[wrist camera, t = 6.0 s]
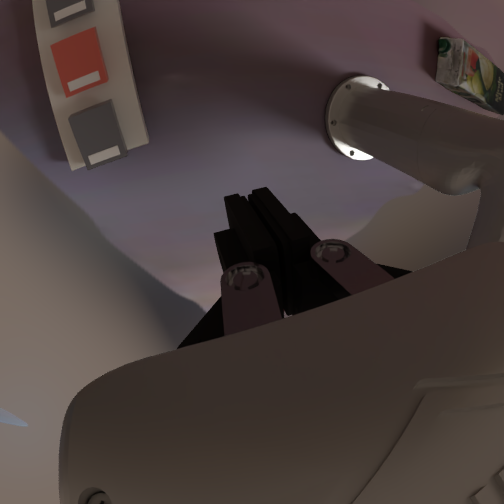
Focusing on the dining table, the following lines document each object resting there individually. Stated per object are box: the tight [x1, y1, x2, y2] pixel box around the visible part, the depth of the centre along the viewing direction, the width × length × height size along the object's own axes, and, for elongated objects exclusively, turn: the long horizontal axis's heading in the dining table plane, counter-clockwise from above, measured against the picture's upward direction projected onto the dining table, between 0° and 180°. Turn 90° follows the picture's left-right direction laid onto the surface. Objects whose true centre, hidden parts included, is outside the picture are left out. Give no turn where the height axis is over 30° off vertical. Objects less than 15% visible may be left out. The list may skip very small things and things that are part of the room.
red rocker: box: [50, 26, 109, 98], centre depth 21 cm, size 4×6×2 cm
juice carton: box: [435, 37, 504, 115], centre depth 36 cm, size 20×10×6 cm, turn 85°
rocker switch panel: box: [32, 0, 149, 171], centre depth 23 cm, size 9×22×4 cm, turn 10°
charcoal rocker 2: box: [68, 99, 128, 170], centre depth 25 cm, size 4×6×2 cm
